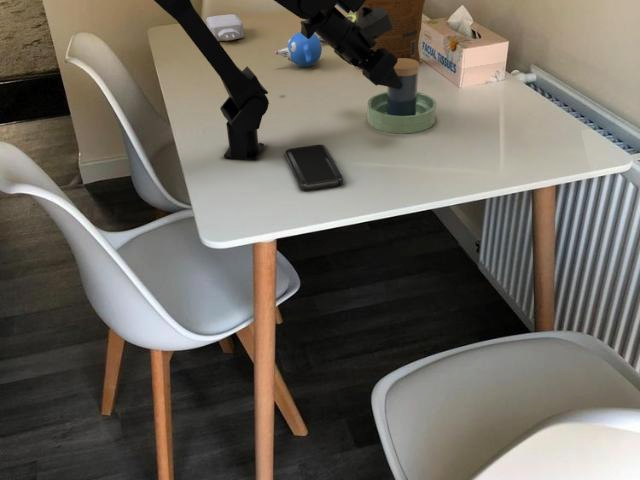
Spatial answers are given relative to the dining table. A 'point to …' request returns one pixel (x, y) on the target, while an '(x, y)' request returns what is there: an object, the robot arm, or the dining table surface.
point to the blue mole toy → (302, 50)
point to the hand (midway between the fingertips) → (391, 79)
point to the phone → (313, 167)
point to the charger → (225, 27)
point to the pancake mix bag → (400, 26)
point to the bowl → (401, 123)
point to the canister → (404, 89)
